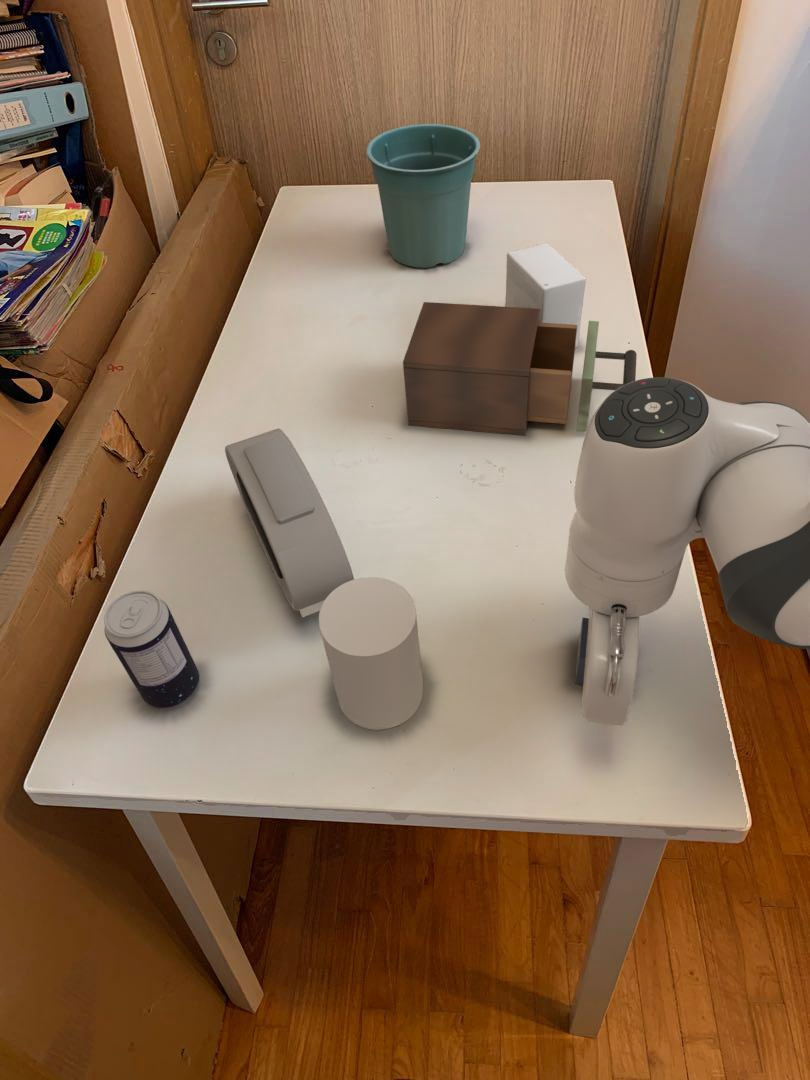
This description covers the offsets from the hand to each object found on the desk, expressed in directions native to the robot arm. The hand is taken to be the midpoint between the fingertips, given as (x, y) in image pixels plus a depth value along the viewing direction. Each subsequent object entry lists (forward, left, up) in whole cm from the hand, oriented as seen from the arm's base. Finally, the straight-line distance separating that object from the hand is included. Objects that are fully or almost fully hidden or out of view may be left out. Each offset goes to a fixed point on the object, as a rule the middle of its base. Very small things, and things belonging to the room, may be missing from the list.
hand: (602, 657), depth 76 cm
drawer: (+8, -38, -1) cm, 39 cm away
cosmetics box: (+11, -53, -2) cm, 54 cm away
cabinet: (+18, -38, -2) cm, 42 cm away
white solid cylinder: (+20, +6, -2) cm, 21 cm away
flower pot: (+31, -74, -2) cm, 80 cm away
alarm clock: (+33, -9, -2) cm, 34 cm away
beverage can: (+40, +9, -2) cm, 41 cm away
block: (0, 0, -2) cm, 2 cm away
